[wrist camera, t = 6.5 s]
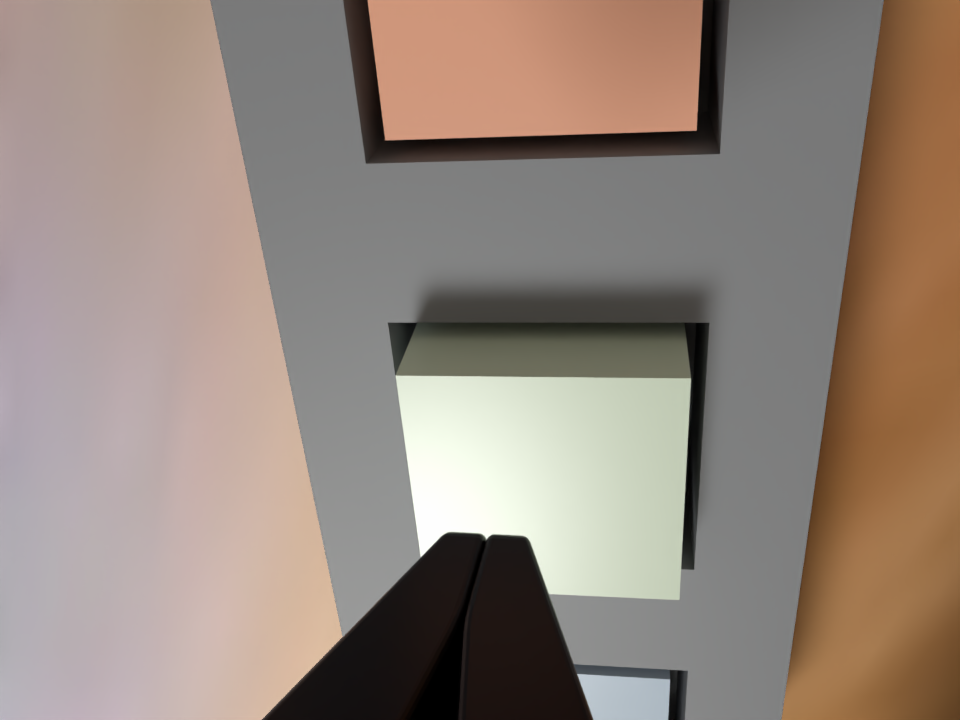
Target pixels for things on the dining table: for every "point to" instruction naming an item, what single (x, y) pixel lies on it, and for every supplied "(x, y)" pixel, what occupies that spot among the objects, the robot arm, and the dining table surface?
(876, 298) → the dining table surface
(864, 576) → the dining table surface
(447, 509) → the sage button
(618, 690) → the slate blue button
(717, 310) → the button panel
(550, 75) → the terracotta button
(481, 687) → the robot arm
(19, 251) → the dining table surface
